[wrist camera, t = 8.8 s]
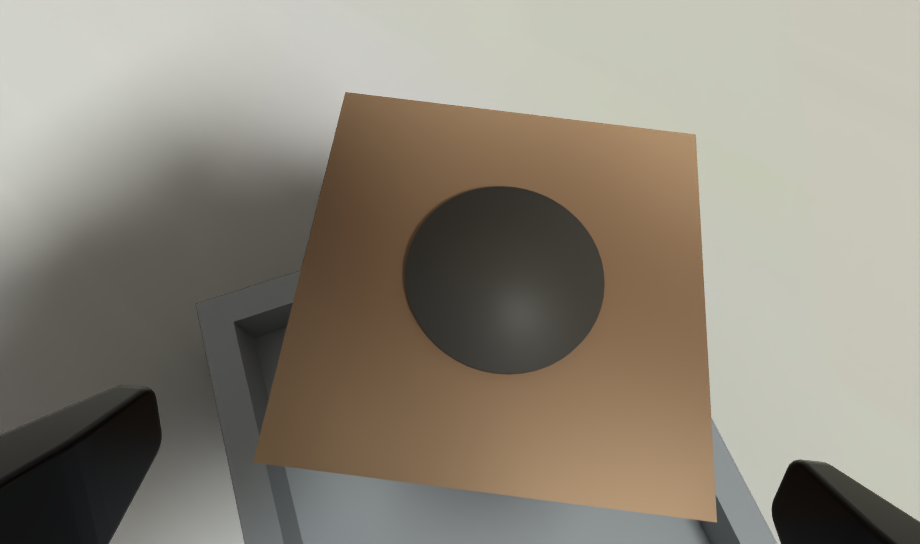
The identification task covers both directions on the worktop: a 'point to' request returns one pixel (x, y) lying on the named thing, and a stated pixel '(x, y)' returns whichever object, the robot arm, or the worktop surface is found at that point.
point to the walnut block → (502, 311)
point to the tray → (401, 503)
